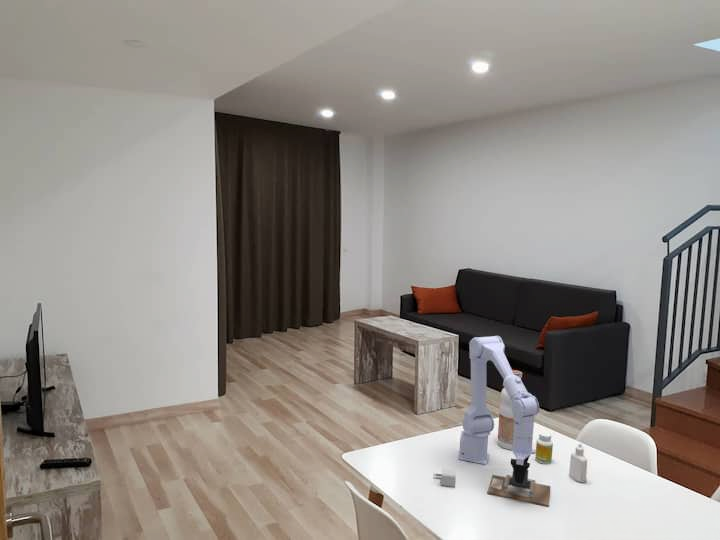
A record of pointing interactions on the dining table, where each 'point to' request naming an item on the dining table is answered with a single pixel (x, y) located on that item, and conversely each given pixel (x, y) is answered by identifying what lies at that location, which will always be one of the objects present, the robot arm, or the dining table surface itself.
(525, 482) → the plug
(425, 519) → the dining table surface
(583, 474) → the eye dropper bottle
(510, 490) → the socket dock
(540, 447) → the supplement bottle
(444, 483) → the usb wall charger
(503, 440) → the fruit juice
